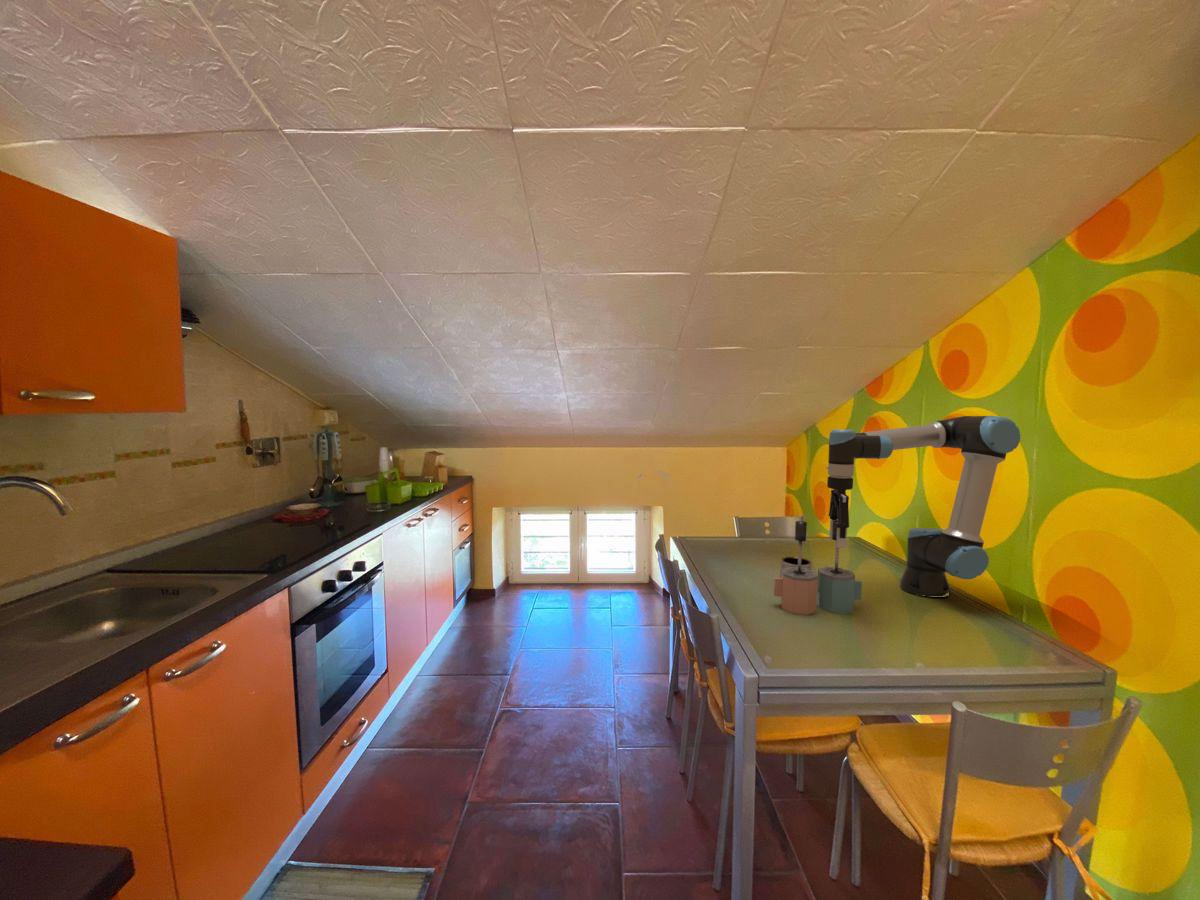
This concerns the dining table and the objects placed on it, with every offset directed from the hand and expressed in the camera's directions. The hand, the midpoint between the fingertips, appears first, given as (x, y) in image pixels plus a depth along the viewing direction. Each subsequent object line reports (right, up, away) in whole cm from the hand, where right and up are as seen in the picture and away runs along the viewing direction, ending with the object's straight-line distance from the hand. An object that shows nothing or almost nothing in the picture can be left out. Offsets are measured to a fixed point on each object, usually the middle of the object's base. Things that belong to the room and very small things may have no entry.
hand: (837, 543), depth 157 cm
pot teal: (+1, -22, +1) cm, 22 cm away
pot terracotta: (-14, -22, +1) cm, 26 cm away
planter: (-5, -20, +22) cm, 30 cm away
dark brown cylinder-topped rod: (0, -12, +1) cm, 13 cm away
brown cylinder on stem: (-13, -12, 0) cm, 18 cm away
